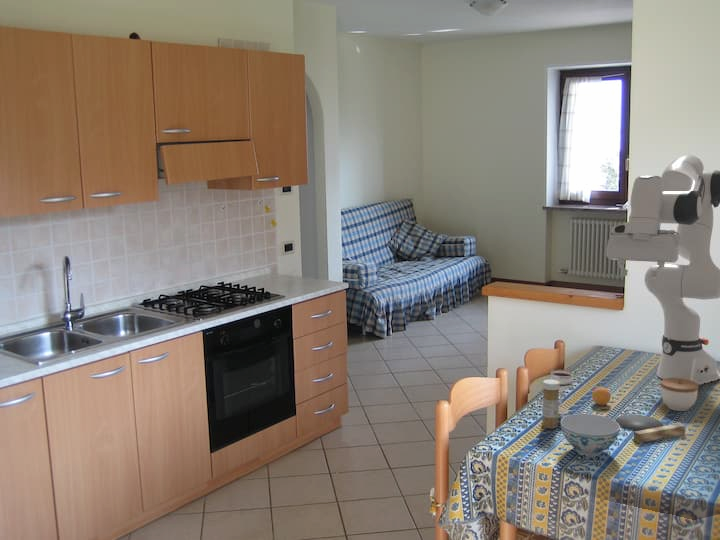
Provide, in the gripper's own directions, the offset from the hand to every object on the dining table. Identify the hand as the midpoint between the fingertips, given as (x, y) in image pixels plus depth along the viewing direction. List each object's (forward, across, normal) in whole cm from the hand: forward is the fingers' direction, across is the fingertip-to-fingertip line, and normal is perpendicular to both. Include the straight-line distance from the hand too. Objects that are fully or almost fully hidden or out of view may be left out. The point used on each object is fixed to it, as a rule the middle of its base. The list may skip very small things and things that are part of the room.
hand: (639, 276), depth 226 cm
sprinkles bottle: (+46, +16, +16) cm, 51 cm away
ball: (+37, +12, -9) cm, 40 cm away
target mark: (+42, -3, -2) cm, 43 cm away
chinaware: (+49, 0, +25) cm, 55 cm away
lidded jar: (+38, -7, -22) cm, 45 cm away
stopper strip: (+44, -11, +4) cm, 46 cm away
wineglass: (+43, +19, +3) cm, 47 cm away
